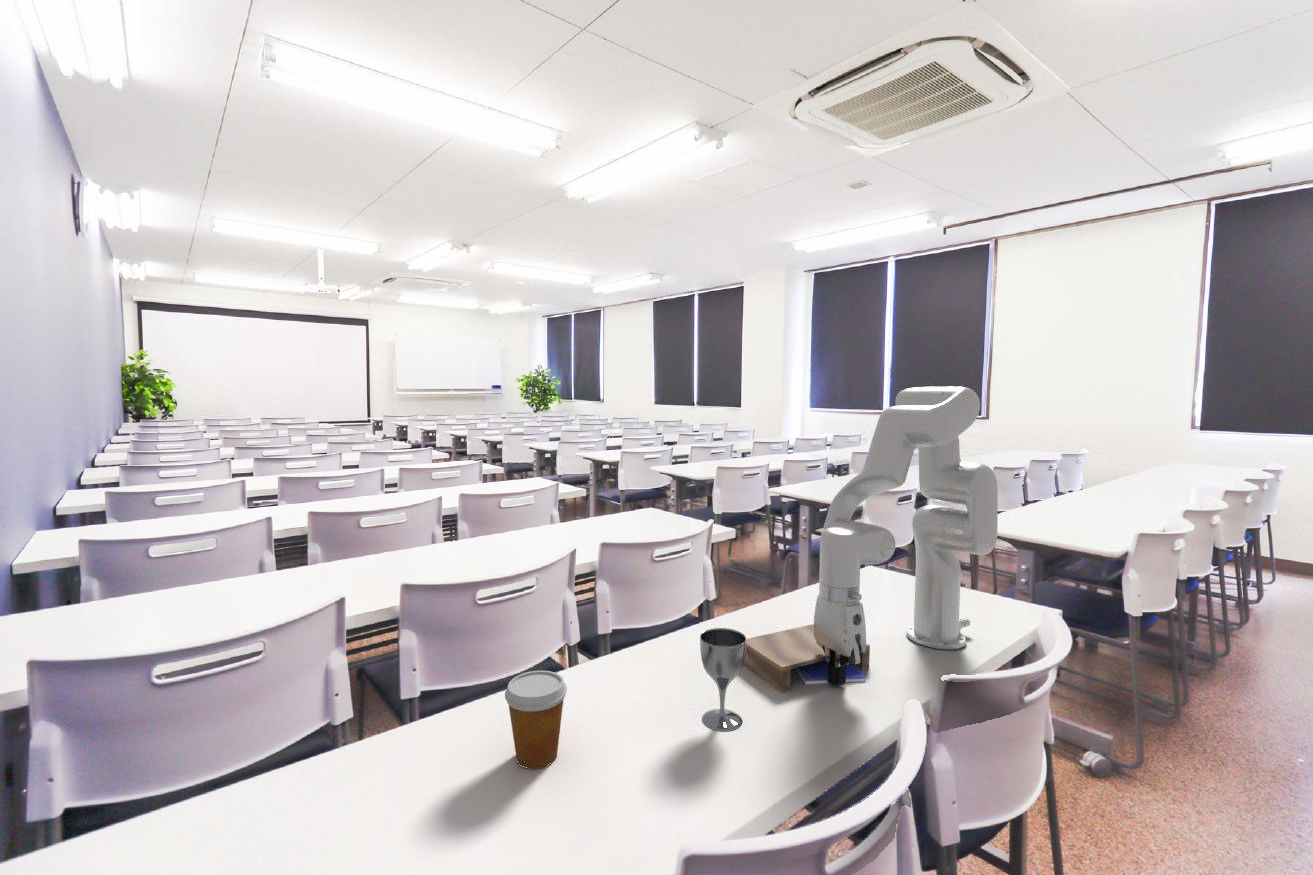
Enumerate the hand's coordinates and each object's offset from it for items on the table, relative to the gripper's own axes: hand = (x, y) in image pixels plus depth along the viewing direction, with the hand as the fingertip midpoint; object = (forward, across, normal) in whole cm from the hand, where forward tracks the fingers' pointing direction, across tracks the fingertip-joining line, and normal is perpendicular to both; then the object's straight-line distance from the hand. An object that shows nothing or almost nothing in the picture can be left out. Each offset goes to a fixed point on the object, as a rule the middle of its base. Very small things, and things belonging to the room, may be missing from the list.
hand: (836, 682), depth 115 cm
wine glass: (+1, 0, +27) cm, 27 cm away
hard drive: (+1, +5, -2) cm, 6 cm away
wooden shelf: (+1, +10, 0) cm, 10 cm away
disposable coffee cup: (+1, +4, +59) cm, 59 cm away
